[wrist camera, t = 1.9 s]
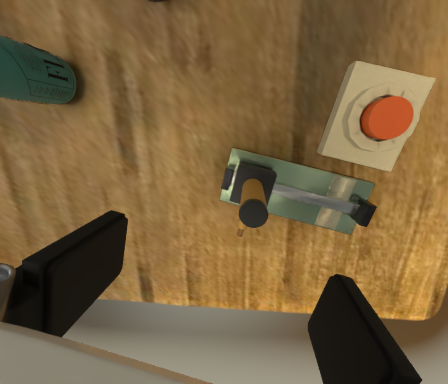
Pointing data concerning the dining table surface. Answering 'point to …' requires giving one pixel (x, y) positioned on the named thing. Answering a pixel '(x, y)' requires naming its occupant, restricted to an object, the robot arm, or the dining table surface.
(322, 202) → the rail
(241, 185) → the nozzle
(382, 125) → the button
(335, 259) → the dining table surface
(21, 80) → the beverage bottle
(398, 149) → the button box
